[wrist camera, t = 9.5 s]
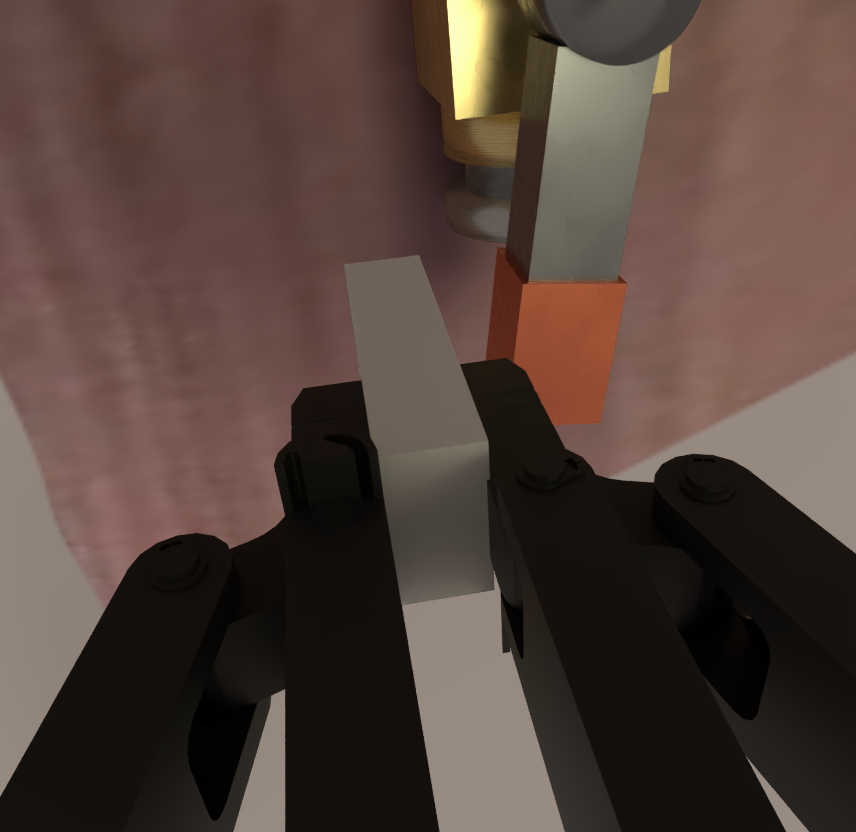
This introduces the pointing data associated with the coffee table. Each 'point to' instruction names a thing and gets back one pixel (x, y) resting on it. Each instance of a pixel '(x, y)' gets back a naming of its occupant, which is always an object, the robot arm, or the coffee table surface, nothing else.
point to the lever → (576, 192)
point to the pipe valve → (480, 101)
